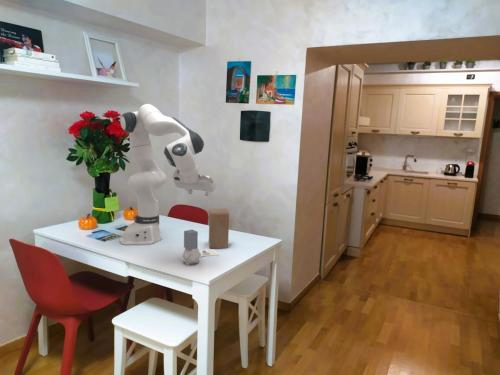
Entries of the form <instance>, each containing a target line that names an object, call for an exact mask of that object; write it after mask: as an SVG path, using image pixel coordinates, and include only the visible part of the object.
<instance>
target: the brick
mask: <svg viewBox="0 0 500 375" xmlns="http://www.w3.org/2000/svg"><path fill="white" fill-rule="evenodd" d="M198 234H199V232H198V231H197V230H194V229H189V230H184V231H183V248H184V249H185V248H186V249H188V250H191V249H195V248H198V245H199V244H198V243H199V240H198Z"/></svg>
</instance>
